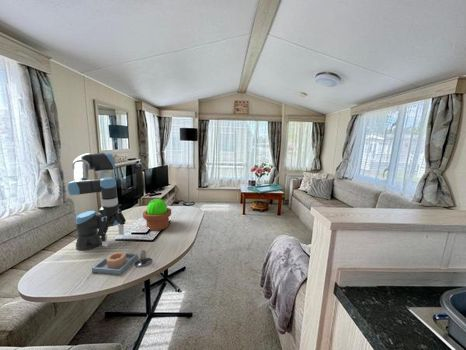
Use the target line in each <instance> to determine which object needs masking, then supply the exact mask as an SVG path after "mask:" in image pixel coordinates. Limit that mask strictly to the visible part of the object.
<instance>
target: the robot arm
mask: <svg viewBox="0 0 466 350" xmlns="http://www.w3.org/2000/svg"><path fill="white" fill-rule="evenodd" d="M71 168H72V169H73V173H72V174H73V177H72V179H73V180H72V181H69V182H68V183H67V192H68V194H69V195H70V196H79V195H87V194H95V193H99V198H100V206H101V207H100V208H99V209H98V212H96V211H95V210H88V211H85V212H81V213H79V214H78V215H76V217H75V226H76V232H77V237H76V238H77V239H76V242H75V249H76V250H79V251H87V250H92V249H94V248H96V247H98V246H100V245H101V244H102V247H108V246H109V242H108V241H109V240H108V235H107V233H108V230H109V228H111V227H116V226H117V227H118V235H121V236H124V235H125V231H124V225H125V224H126V220H127V219H126V218H125V216H124V215H123V213H122V209H121V208H119V199H118V190H117V181H116V178H115V177H113V176H112V173H113V172H114V169H115V168H116V163H115V159H114V156H113V154H112V153H111V152H93V153H92V152H91V153H88V152H87V153H83V154H81V155H79V156H77V157H75V159H73V161H72V164H71ZM89 170H90V171H91V170H94V173H96V174H97V179H90V177H89Z"/></svg>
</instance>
